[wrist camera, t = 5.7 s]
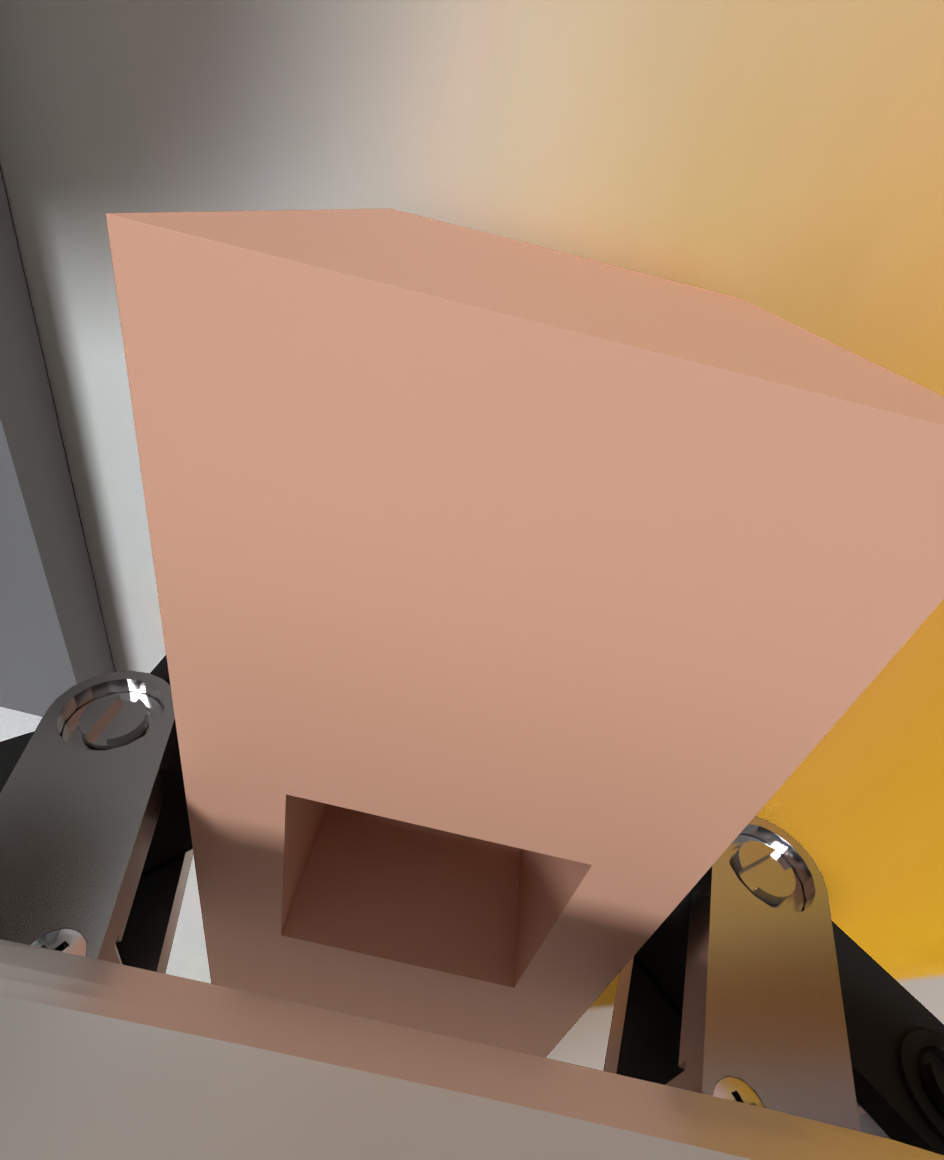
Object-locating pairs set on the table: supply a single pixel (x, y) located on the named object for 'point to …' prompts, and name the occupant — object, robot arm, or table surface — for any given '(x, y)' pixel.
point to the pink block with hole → (494, 593)
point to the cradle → (38, 520)
